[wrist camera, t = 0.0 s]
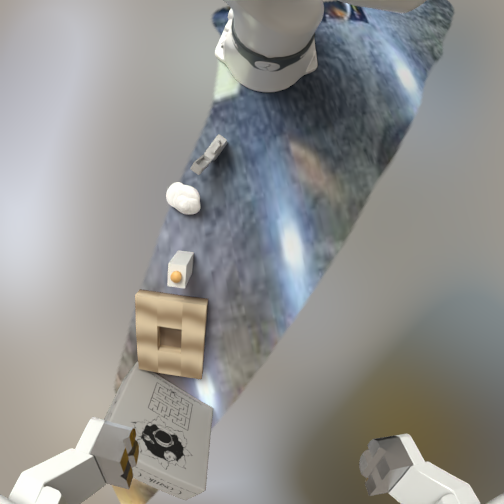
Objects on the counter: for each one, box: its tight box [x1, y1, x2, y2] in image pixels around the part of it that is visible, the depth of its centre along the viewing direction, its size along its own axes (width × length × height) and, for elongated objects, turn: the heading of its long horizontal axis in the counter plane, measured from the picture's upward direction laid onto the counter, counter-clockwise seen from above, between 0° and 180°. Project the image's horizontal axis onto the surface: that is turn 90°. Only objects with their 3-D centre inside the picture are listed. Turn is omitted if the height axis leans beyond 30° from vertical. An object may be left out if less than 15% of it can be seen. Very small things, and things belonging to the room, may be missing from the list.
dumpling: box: [166, 182, 201, 215], centre depth 51 cm, size 7×5×4 cm
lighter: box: [190, 135, 228, 175], centre depth 48 cm, size 7×2×8 cm, turn 144°
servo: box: [168, 251, 194, 288], centre depth 52 cm, size 4×3×9 cm
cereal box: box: [104, 362, 213, 500], centre depth 53 cm, size 22×8×25 cm, turn 50°
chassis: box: [135, 289, 208, 379], centre depth 59 cm, size 18×14×3 cm
